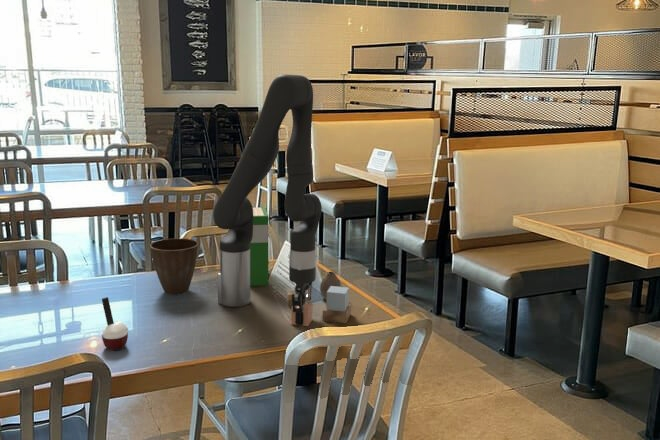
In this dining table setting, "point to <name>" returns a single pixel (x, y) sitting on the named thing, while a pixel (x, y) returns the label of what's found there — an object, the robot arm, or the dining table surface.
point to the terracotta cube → (307, 314)
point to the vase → (329, 283)
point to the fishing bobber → (113, 330)
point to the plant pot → (174, 263)
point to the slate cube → (337, 298)
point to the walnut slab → (337, 315)
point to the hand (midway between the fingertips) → (301, 320)
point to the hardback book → (259, 248)
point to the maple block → (289, 298)
